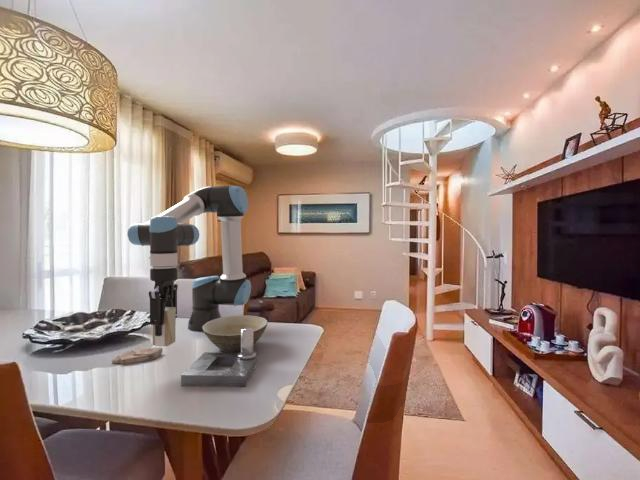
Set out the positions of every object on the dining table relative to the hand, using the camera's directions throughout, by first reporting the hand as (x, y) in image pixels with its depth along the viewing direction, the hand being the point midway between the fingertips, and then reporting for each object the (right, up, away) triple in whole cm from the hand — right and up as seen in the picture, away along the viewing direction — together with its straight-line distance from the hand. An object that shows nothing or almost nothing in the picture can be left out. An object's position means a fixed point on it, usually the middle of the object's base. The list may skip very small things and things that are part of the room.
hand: (164, 342), depth 99 cm
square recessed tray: (+18, -10, 0) cm, 20 cm away
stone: (-15, -10, +12) cm, 21 cm away
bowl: (+16, -10, +22) cm, 29 cm away
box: (0, -1, 0) cm, 1 cm away
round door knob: (+24, -10, +6) cm, 26 cm away
